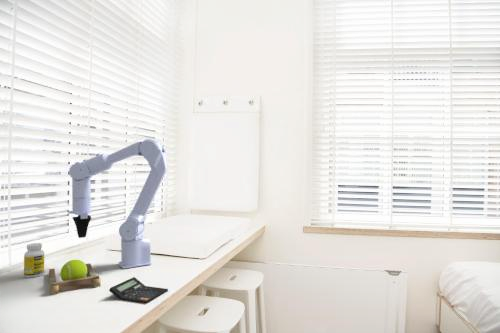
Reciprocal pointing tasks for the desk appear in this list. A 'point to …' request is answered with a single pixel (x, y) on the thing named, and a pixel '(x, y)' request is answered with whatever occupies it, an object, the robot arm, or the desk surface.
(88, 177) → the robot arm
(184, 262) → the desk surface
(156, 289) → the calculator
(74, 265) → the tennis ball
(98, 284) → the level stand
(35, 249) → the supplement bottle
